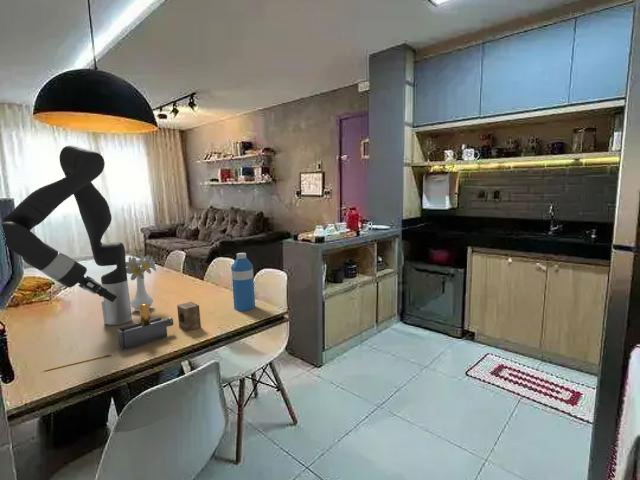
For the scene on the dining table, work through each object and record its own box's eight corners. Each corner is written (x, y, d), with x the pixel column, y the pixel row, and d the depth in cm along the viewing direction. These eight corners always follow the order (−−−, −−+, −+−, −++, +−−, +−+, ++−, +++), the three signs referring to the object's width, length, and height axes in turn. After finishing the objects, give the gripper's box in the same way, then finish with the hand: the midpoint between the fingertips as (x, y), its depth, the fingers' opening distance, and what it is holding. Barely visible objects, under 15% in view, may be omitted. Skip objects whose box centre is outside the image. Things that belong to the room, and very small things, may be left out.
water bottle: (234, 312, 151) (230, 256, 147) (233, 305, 160) (230, 252, 156) (256, 309, 153) (252, 254, 150) (254, 303, 162) (251, 251, 159)
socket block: (187, 331, 131) (185, 309, 130) (179, 327, 136) (177, 305, 135) (200, 327, 135) (199, 305, 134) (192, 323, 140) (190, 301, 139)
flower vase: (126, 318, 147) (122, 261, 143) (127, 305, 163) (123, 253, 159) (160, 313, 153) (157, 258, 150) (157, 301, 169) (154, 251, 166)
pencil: (112, 356, 114) (112, 353, 114) (112, 356, 113) (112, 353, 114) (39, 374, 104) (39, 371, 104) (38, 374, 103) (38, 371, 104)
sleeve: (123, 351, 116) (121, 332, 115) (118, 346, 120) (116, 328, 119) (167, 337, 127) (165, 320, 126) (161, 333, 130) (160, 316, 129)
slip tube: (127, 340, 118) (123, 310, 116) (124, 337, 120) (120, 308, 119) (173, 326, 129) (171, 299, 128) (170, 324, 131) (167, 297, 130)
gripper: (79, 262, 101) (125, 291, 111) (67, 257, 111) (111, 284, 121) (59, 283, 98) (109, 311, 108) (49, 276, 108) (95, 302, 118)
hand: (110, 297), depth 115 cm, fingers open, 8 cm apart
